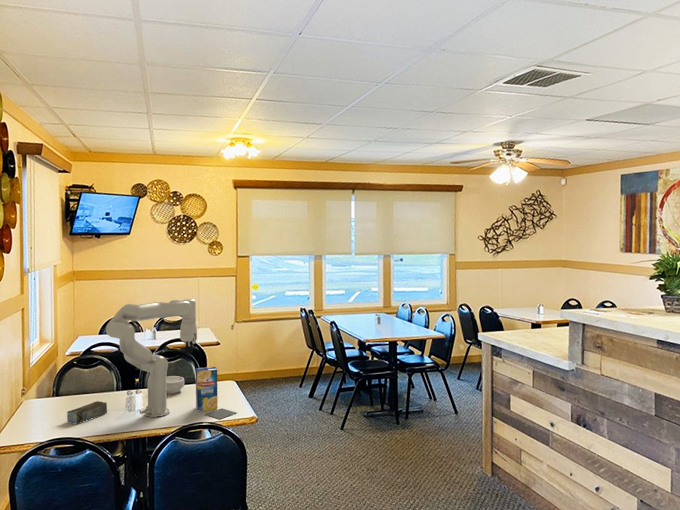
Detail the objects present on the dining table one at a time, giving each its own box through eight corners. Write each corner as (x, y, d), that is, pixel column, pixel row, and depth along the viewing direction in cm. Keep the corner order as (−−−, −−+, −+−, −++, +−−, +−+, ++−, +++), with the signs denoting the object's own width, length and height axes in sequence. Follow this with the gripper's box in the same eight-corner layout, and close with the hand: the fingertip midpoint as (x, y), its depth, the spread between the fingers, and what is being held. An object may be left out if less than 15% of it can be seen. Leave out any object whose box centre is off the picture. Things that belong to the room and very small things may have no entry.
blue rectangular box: (217, 408, 298) (217, 369, 297) (197, 411, 294) (196, 371, 293) (215, 405, 304) (215, 366, 303) (195, 407, 300) (195, 368, 299)
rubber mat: (219, 419, 281) (219, 418, 281) (204, 414, 288) (204, 414, 288) (236, 413, 290) (236, 412, 290) (221, 409, 298) (221, 408, 298)
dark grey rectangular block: (66, 422, 276) (66, 410, 276) (97, 411, 293) (97, 399, 293) (76, 425, 273) (76, 412, 272) (108, 413, 290) (107, 401, 290)
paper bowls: (189, 391, 330) (189, 378, 330) (166, 397, 319) (166, 383, 319) (175, 386, 341) (175, 374, 340) (153, 391, 329) (153, 379, 329)
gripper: (174, 320, 308) (175, 352, 308) (192, 323, 298) (192, 355, 299) (185, 318, 314) (186, 349, 314) (202, 321, 304) (203, 353, 305)
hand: (189, 352), depth 307 cm, fingers closed
